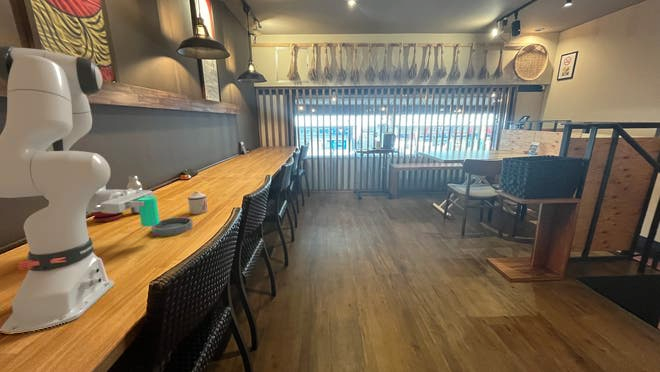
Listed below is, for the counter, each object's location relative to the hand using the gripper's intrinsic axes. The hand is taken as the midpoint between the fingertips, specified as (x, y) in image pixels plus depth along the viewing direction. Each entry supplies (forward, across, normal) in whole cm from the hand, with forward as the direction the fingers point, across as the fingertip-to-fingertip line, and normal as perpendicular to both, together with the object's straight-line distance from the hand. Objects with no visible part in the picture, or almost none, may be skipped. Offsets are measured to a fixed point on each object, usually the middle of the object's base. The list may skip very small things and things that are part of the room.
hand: (150, 201), depth 100 cm
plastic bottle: (-33, +37, +17) cm, 52 cm away
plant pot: (-41, +27, +18) cm, 52 cm away
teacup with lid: (-2, +40, +17) cm, 43 cm away
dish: (-1, +13, +17) cm, 22 cm away
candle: (-1, 0, +9) cm, 9 cm away
